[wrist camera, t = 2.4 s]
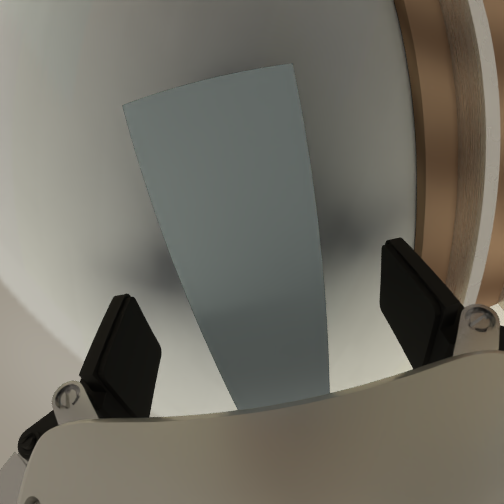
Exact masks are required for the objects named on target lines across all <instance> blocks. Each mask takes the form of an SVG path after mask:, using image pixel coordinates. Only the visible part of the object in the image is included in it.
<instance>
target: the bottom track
mask: <svg viewBox="0 0 504 504" xmlns="http://www.w3.org/2000/svg"><path fill="white" fill-rule="evenodd" d="M394 2H395V6H396V10H397V14H398V18H399V23H400V27H401V32H402V36H403V41H404V46H405V52H406V57H407V63H408V70H409V76H410V84H411V91H412V100H413V110H414V121H415V135H416V154H417V214H416V234H415V249H414V251H415V252H416V253H417V254H418V255H419V256H420V257H421V258H422V259H423V261H424V262H425V263H426V264H427V265H428V266H429V267H430V268H431V269H432V270H433V271H434V273H435V274H436V275H437V276H438V277H439V278H440V279H441V280H442V281H443V283H444V284H445V285H446V286H447V287H448V288H449V289H450V291H451V292H452V293H453V294H454V295H455V296H456V298H457V299H458V300H459V301H460V303H461V304H462V305H463V306H464V307H467V306H469V305H472V304H482V305H485V306H488V307H490V306H493V305H495V304H497V303H498V304H499V305H500V306H501V308H502V309H503V310H504V0H394Z"/></svg>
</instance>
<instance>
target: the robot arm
mask: <svg viewBox="0 0 504 504" xmlns="http://www.w3.org/2000/svg"><path fill="white" fill-rule="evenodd" d="M380 308H381V311H382V313H383V314H384V316H385V318H386V320H387V321H388V323H389V325H390V327H391V329H392V330H393V332H394V334H395V336H396V338H397V339H398V341H399V343H400V345H401V347H402V349H403V350H404V352H405V354H406V356H407V358H408V360H409V362H410V364H411V365H412V367H413V370H410V371H407V372H404V373H400V374H397V375H394V376H391V377H387V378H384V379H381V380H378V381H374V382H371V383H367V384H364V385H360V386H357V387H353V388H349V389H345V390H341V391H337V392H333V393H329V394H325V395H321V396H316V397H311V398H307V399H302V400H297V401H292V402H287V403H281V404H276V405H270V406H264V407H258V408H251V409H244V410H236V411H228V412H220V413H210V414H200V415H187V416H172V417H149V416H150V410H151V405H152V399H153V394H154V389H155V383H156V378H157V373H158V368H159V364H160V359H161V347H160V345H159V343H158V341H157V339H156V337H155V336H154V334H153V332H152V330H151V328H150V326H149V324H148V323H147V321H146V319H145V317H144V315H143V313H142V311H141V309H140V307H139V305H138V303H137V301H136V299H135V298H134V297H131V296H130V295H129V294H124V295H118V296H114V297H113V299H112V301H111V303H110V305H109V307H108V309H107V312H106V314H105V316H104V318H103V320H102V322H101V325H100V327H99V329H98V331H97V333H96V336H95V338H94V340H93V342H92V345H91V347H90V349H89V352H88V354H87V356H86V359H85V361H84V364H83V366H82V369H81V371H80V374H79V376H80V377H81V381H80V382H77V381H69V382H66V383H64V384H62V385H61V386H60V387H59V388H58V389H57V390H56V391H55V393H54V395H53V398H52V407H53V411H51V412H50V413H49V414H47V415H46V416H44V417H43V418H42V419H40V420H39V421H38V422H36V423H35V424H34V425H32V426H31V427H30V428H28V429H27V430H26V431H25V432H24V433H23V434H22V435H21V437H20V439H19V441H18V452H19V453H18V454H17V453H16V452H14V453H13V455H12V456H11V457H10V458H9V460H8V461H7V462H6V463H5V465H4V466H3V467H2V468H1V470H0V504H504V326H500V321H499V317H498V315H497V313H496V312H495V311H494V310H493V309H491V308H490V307H488V306H485V305H482V304H472V305H469V306H467V307H464V306H463V305H462V304H461V303H460V301H459V300H458V299H457V298H456V296H455V295H454V294H453V293H452V292H451V291H450V289H449V288H448V287H447V286H446V285H445V284H444V283H443V281H442V280H441V279H440V278H439V277H438V276H437V275H436V274H435V273H434V271H433V270H432V269H431V268H430V267H429V266H428V265H427V264H426V263H425V262H424V261H423V259H422V258H421V257H420V256H419V255H418V254H417V253H416V252H415V251H414V250H413V249H412V248H411V247H410V246H409V245H408V244H407V243H406V242H405V241H404V240H403V239H402V238H395V239H391V240H387V241H386V243H385V245H383V246H382V253H381V285H380Z"/></svg>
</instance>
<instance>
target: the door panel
mask: <svg viewBox="0 0 504 504" xmlns="http://www.w3.org/2000/svg"><path fill="white" fill-rule="evenodd" d="M122 106H123V110H124V114H125V117H126V121H127V125H128V128H129V132H130V135H131V139H132V142H133V146H134V149H135V152H136V156H137V159H138V162H139V165H140V169H141V172H142V175H143V178H144V181H145V184H146V187H147V190H148V193H149V196H150V199H151V202H152V205H153V208H154V211H155V214H156V217H157V220H158V223H159V225H160V228H161V231H162V234H163V237H164V239H165V242H166V245H167V247H168V250H169V253H170V255H171V258H172V261H173V263H174V266H175V269H176V271H177V274H178V276H179V279H180V281H181V284H182V286H183V289H184V291H185V294H186V296H187V299H188V301H189V304H190V306H191V308H192V311H193V313H194V316H195V318H196V320H197V323H198V325H199V327H200V330H201V332H202V334H203V337H204V339H205V341H206V343H207V346H208V348H209V350H210V352H211V354H212V357H213V359H214V361H215V363H216V365H217V368H218V370H219V372H220V374H221V376H222V378H223V380H224V382H225V385H226V387H227V389H228V391H229V393H230V395H231V397H232V399H233V401H234V403H235V405H236V407H237V409H238V410H244V409H251V408H258V407H264V406H270V405H276V404H281V403H287V402H292V401H297V400H302V399H307V398H311V397H316V396H321V395H325V394H329V393H330V385H329V354H328V334H327V316H326V302H325V288H324V276H323V265H322V254H321V244H320V235H319V226H318V217H317V209H316V201H315V193H314V185H313V178H312V171H311V164H310V157H309V151H308V145H307V138H306V132H305V126H304V120H303V115H302V109H301V104H300V98H299V93H298V88H297V83H296V78H295V73H294V68H293V63H291V64H284V65H277V66H270V67H264V68H258V69H252V70H247V71H242V72H237V73H232V74H227V75H223V76H218V77H214V78H210V79H206V80H202V81H198V82H194V83H190V84H186V85H183V86H179V87H176V88H172V89H169V90H166V91H162V92H159V93H156V94H153V95H150V96H147V97H144V98H141V99H138V100H135V101H133V102H130V103H127V104H124V105H122Z"/></svg>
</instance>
